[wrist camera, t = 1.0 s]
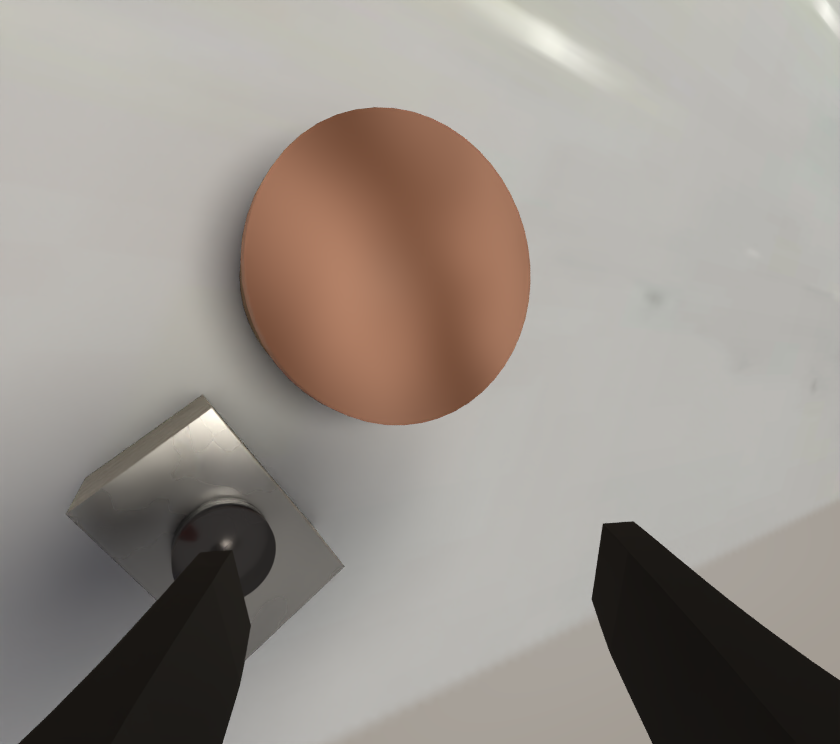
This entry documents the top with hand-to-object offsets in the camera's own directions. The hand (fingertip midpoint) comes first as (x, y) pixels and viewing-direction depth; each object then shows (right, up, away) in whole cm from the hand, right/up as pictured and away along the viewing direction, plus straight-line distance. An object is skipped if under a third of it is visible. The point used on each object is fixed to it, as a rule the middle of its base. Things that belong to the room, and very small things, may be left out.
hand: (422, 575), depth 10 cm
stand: (-3, +8, +11) cm, 13 cm away
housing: (-8, -1, +9) cm, 12 cm away
